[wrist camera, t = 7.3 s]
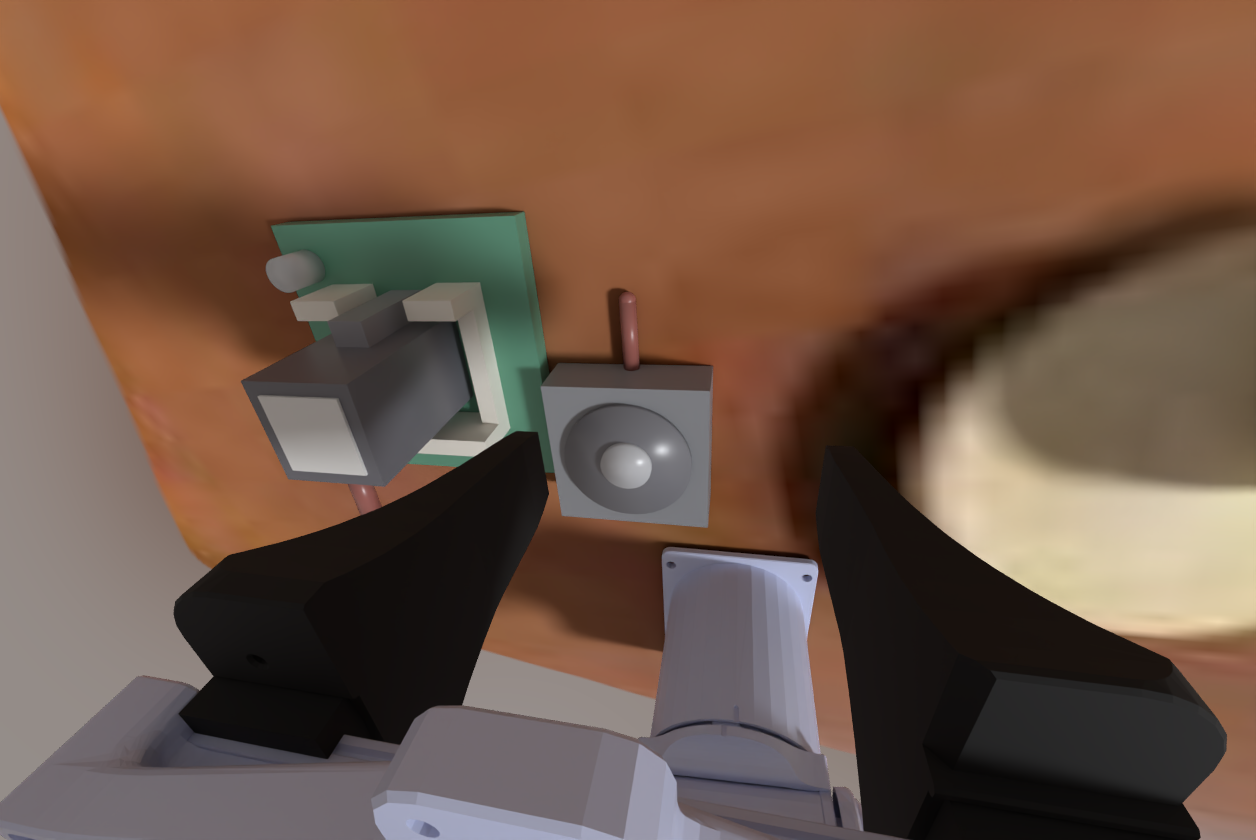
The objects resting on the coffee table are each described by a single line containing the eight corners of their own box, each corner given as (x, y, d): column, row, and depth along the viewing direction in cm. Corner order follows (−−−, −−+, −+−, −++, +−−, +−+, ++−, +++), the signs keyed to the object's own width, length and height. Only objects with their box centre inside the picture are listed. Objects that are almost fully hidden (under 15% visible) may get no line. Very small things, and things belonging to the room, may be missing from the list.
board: (562, 461, 26) (540, 505, 23) (374, 450, 28) (331, 489, 25) (524, 211, 20) (486, 227, 17) (288, 222, 22) (219, 237, 19)
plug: (485, 445, 25) (405, 547, 19) (413, 441, 26) (314, 538, 20) (448, 289, 21) (333, 356, 15) (364, 290, 22) (223, 353, 16)
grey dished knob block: (710, 494, 25) (706, 536, 23) (575, 485, 27) (558, 523, 24) (714, 288, 20) (710, 312, 18) (547, 290, 22) (521, 313, 19)
